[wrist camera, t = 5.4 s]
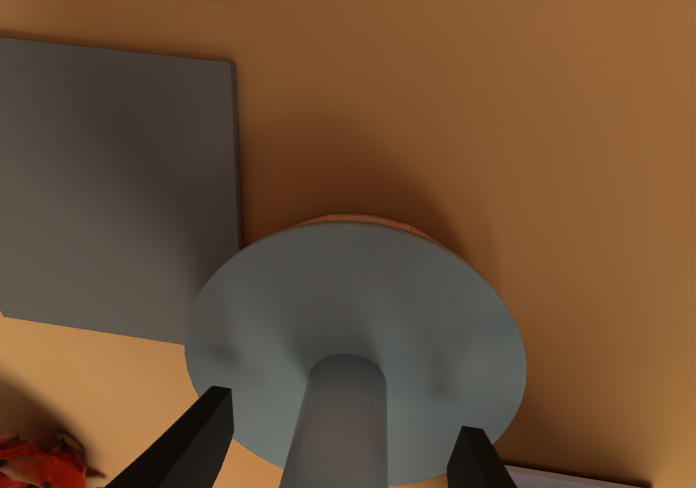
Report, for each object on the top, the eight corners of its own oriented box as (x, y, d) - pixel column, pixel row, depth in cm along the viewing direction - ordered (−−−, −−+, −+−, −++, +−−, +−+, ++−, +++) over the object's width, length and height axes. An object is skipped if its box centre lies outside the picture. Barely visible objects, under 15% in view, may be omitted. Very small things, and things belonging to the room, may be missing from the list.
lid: (563, 229, 9) (720, 341, 5) (484, 486, 14) (527, 651, 10) (161, 211, 10) (3, 289, 6) (219, 456, 15) (156, 594, 11)
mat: (235, 63, 10) (230, 62, 10) (246, 347, 15) (243, 353, 15) (-105, 26, 11) (-122, 23, 11) (12, 311, 16) (3, 316, 16)
